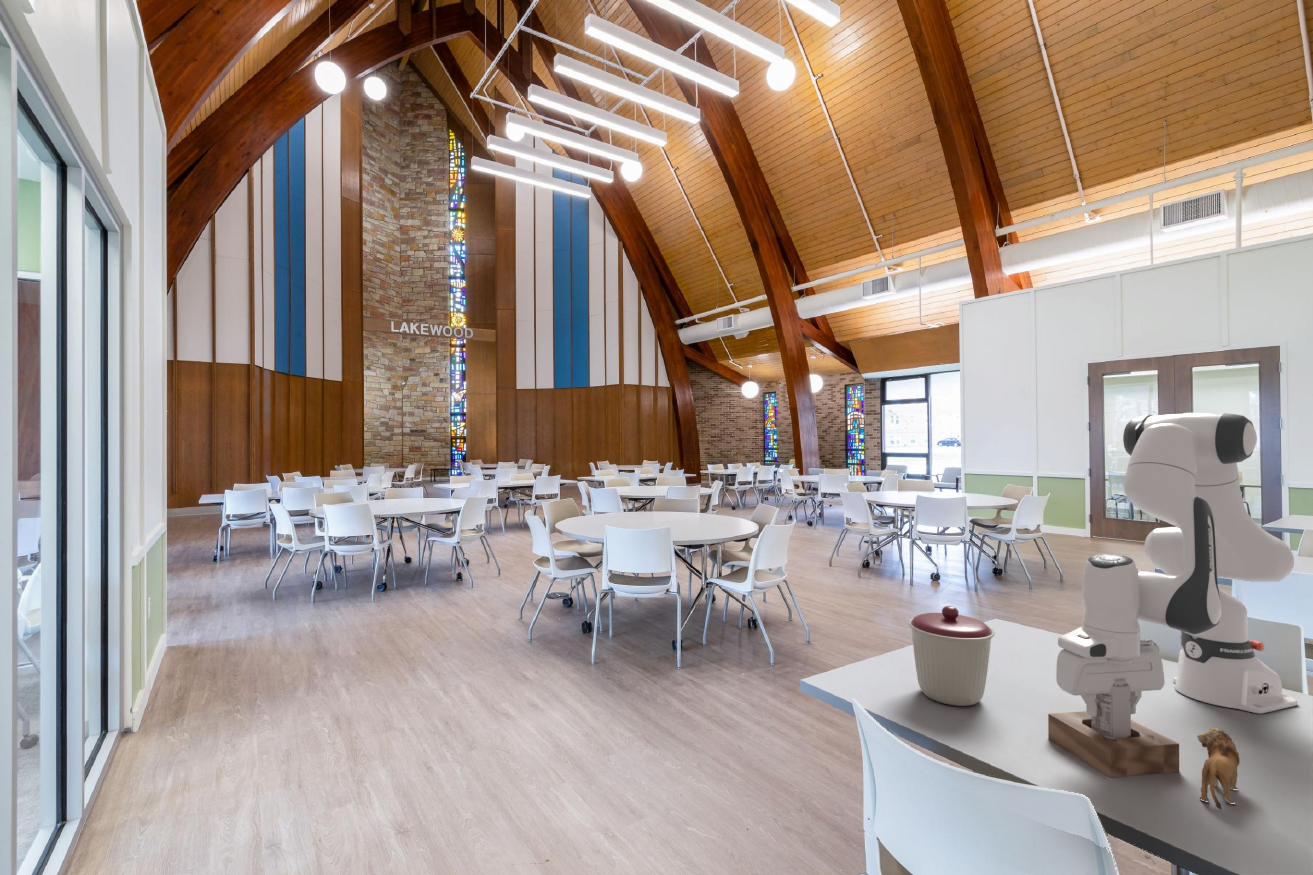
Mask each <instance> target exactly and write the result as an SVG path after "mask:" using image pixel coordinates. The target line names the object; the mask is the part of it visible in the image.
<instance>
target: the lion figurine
mask: <svg viewBox="0 0 1313 875" xmlns="http://www.w3.org/2000/svg"><path fill="white" fill-rule="evenodd" d="M1196 737H1197V739H1198V742H1199V744H1200V743H1201V746H1202V748H1206V751H1207V755H1208V758H1207V759H1206V760H1205V761H1204V764H1203V766H1202V770H1201V787H1200V792H1201V796H1200V797H1199V800H1200V799H1202V800H1204V801H1209V802H1210V799H1209V798H1208V792H1209V790H1210V793H1211V797H1212V800H1213V801H1214V805H1215V808H1217V810H1220V811H1222V810H1223V807H1222V804H1221V802H1220V801H1219V799H1218V798H1217V795H1216V790H1215V789H1216V788H1215V786H1214V785H1217V786H1218V785H1219V783H1220V786H1221V787H1222V790H1223V792H1222V797H1223V798H1224V801H1225V802H1226V801H1227V802H1228V803H1234V802H1235V803H1236V801H1235V800H1234V799H1233V798H1231V793H1230V791H1231V789H1230V788H1232V789H1238V790H1239V787H1237V781H1238V775H1239V774H1238V767H1239V765H1240V754H1239V752H1238V750H1237V747H1236V744H1235V742H1234V741H1233V739H1232V738H1231V736H1230V734H1228V733H1227V732H1226V731H1224V730H1223V729H1220V728H1217V727H1209V730H1208V732H1206V733H1203V734H1199V735H1197V736H1196ZM1209 783H1210V784H1209ZM1208 786H1209V787H1208ZM1208 789H1209V790H1208ZM1227 802H1226V803H1227ZM1228 803H1227V804H1228Z"/></svg>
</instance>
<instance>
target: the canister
mask: <svg viewBox="0 0 1313 875" xmlns="http://www.w3.org/2000/svg"><path fill="white" fill-rule="evenodd" d="M907 623H908V626H909V627H910V628H911V629H910V630H911V636H912V647H913V654H914V656H913V657H914V662H915V663H914V664H915V670H916V671H915V672H916V678H917V681H918V682H917V683H918V686H919V689H920V690H921V691H922V693H923V694H924V695H925V696H926V697H927V698H929V699H931V700H933V701H936V702H938V703H940V704H941V703H942V704H945V705H950V706H956V707H966V706H967V707H968V706H973V705H977V704H978V703H979V702H980V701H981V700H982V699H983V696H984V693H985V690H986V685H987V684H986V682H987V677H988V670H989V669H988V668H989V662H990V661H989V660H990V651H991V643H992V638H994V637H995V633H996V632H995V631H994V629H993V628H992V627H990V626H988V625H987V624H986V623H985V622H983V621H982V620H979V619H976V618H974V617H970V616H966V615H961V614H960V613H959V610H958V609H957V607H955V606H951V605H947V606H944V607H942V610H941V612H926V613H925V612H924V613H921V614H917V615H916V616H914V617H912V618H910V619H909V620H908V622H907Z"/></svg>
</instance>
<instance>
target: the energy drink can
mask: <svg viewBox="0 0 1313 875" xmlns="http://www.w3.org/2000/svg"><path fill="white" fill-rule="evenodd" d="M1114 681H1115V682H1114V683H1113V685H1112V686H1111V688H1110V692H1109V693H1106V694H1096V699H1094V702H1095V704H1096V706H1098V707H1100V708H1101V716H1098V717H1092V716H1091V729H1093V730H1095V731H1097V732H1099V733H1100V734H1102V735H1104V736H1109V737H1113V738H1117V739H1118V738H1131V720H1132V719H1131V718H1132V714H1131V689H1130V686H1129V685H1128V683H1127V682H1126V679H1119V680H1117V679H1114Z"/></svg>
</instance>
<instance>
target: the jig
mask: <svg viewBox="0 0 1313 875" xmlns="http://www.w3.org/2000/svg"><path fill="white" fill-rule="evenodd" d="M1047 719H1048V722H1047V723H1048V724H1047V725H1048V728H1047V731H1048V732H1047V734H1048V735H1047V736H1048V738H1047V739H1048V740H1049V741H1051V742H1052V743H1054V744H1056V745H1057V746H1059V747H1060V748H1063V749H1064V750H1066V752H1068V753H1071V754H1072V755H1074V756H1075V757H1076V758H1079V759H1080V760H1082V761H1083V762H1085V763H1086V764H1088V765H1089V766H1091V767H1094V769H1097V770H1098V771H1100V772H1101V773H1102V774H1105V775H1106V776H1107V777H1110V778H1120V777H1132V776H1144V775H1154V774H1155V775H1157V774H1167V773H1169V774H1170V773H1177V772H1180V743H1179V742H1177V741H1175V740H1172V739H1170V738H1169V737H1167V736H1164V735H1163V734H1160V733H1158V732H1156V731H1154V730H1153V729H1150V728H1148V727H1146V726H1145V725H1143V724H1140V723H1138V722H1136V721H1134V720H1132V719H1131V738H1118V739H1117V738H1113V737H1109V736H1104V735H1102V734H1100V733H1099V732H1097V731H1095V730H1093V729H1091V716H1090V715H1088V714H1087V710H1086V711H1085V710H1084V711H1072V712H1070V711H1069V712H1056V713H1055V712H1053V713H1048V716H1047Z"/></svg>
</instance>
